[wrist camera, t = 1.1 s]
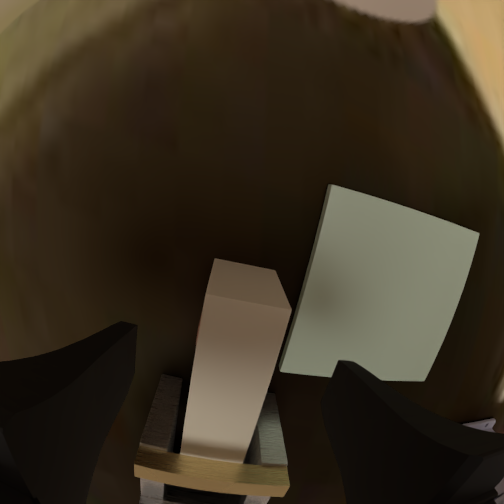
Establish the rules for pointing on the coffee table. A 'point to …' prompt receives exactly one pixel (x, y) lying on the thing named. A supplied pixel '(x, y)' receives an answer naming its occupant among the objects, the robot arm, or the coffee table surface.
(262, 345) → the beige rectangular block
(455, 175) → the coffee table surface
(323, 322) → the pad
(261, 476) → the frame
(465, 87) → the coffee table surface
